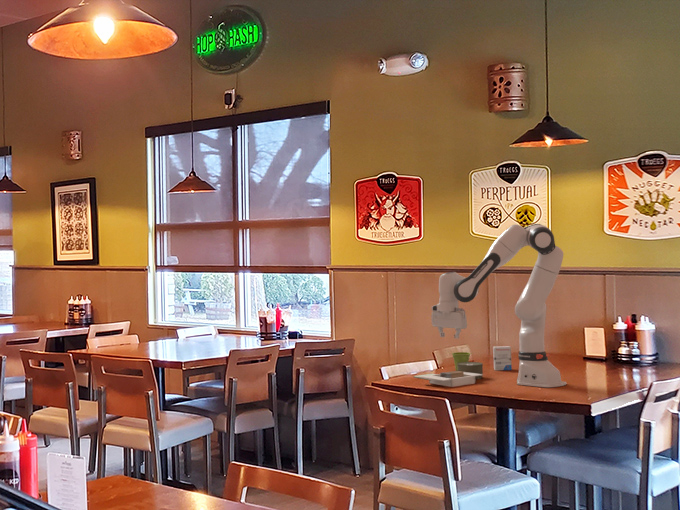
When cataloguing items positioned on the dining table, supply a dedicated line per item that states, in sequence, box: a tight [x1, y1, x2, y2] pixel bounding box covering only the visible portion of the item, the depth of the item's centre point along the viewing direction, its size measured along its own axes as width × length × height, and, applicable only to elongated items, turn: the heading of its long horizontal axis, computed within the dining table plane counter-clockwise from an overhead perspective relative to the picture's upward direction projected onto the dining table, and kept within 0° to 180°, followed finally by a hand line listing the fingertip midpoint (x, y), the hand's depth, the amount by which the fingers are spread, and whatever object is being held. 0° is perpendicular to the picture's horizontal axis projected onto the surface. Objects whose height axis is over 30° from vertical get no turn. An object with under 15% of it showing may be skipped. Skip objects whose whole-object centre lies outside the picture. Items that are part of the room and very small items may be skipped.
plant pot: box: [451, 351, 471, 371], centre depth 409 cm, size 9×9×9 cm
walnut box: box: [439, 370, 464, 379], centre depth 368 cm, size 5×10×5 cm, turn 125°
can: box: [457, 361, 484, 380], centre depth 384 cm, size 12×12×7 cm
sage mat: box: [413, 373, 437, 381], centre depth 388 cm, size 12×12×1 cm
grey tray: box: [420, 372, 484, 388], centre depth 368 cm, size 15×25×4 cm, turn 125°
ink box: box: [492, 345, 513, 371], centre depth 408 cm, size 9×5×12 cm, turn 84°
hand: (449, 337), depth 368 cm, fingers open, 8 cm apart
